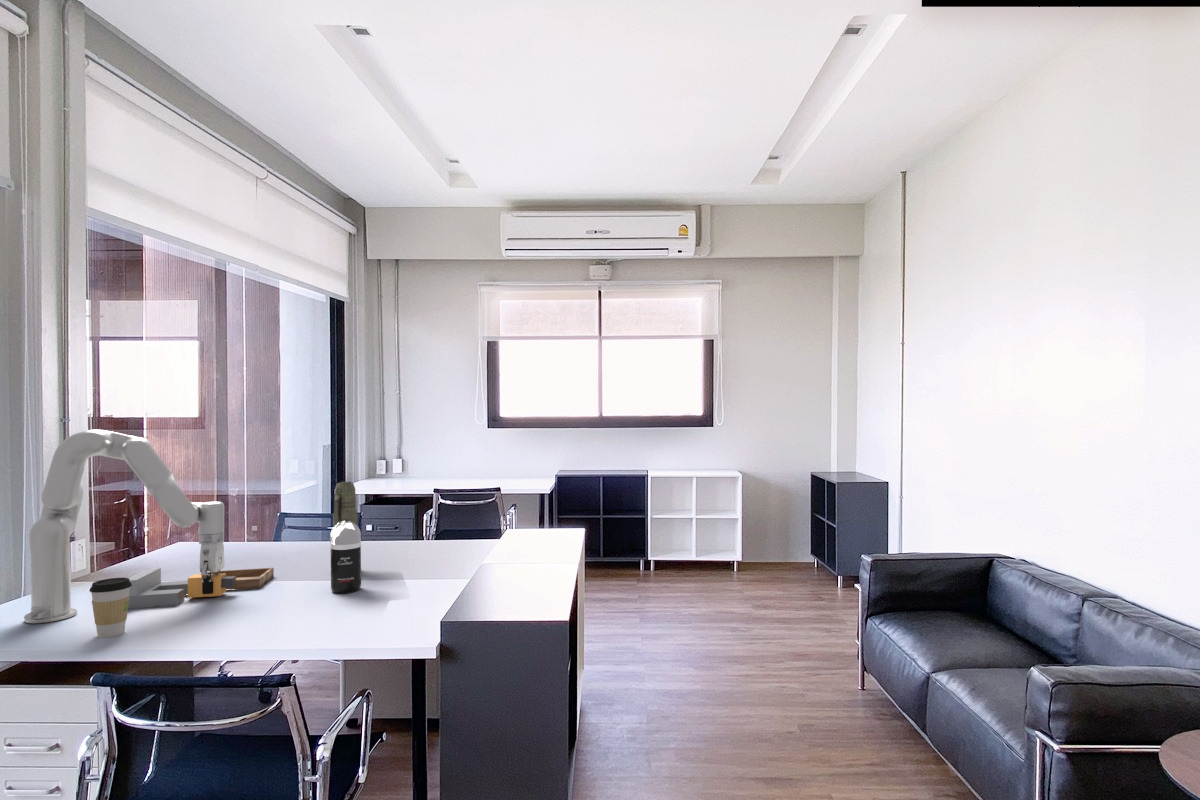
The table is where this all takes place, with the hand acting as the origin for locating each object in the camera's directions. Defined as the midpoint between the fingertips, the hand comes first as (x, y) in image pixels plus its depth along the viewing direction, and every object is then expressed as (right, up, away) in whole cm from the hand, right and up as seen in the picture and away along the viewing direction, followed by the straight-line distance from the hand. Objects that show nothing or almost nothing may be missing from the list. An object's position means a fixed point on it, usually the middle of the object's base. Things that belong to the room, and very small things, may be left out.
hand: (211, 590), depth 231 cm
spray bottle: (+44, -1, +5) cm, 45 cm away
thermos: (+33, -2, +33) cm, 47 cm away
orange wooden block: (+1, -1, 0) cm, 1 cm away
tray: (0, -2, +16) cm, 17 cm away
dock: (-15, -2, -3) cm, 15 cm away
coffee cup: (-6, -2, -39) cm, 39 cm away
